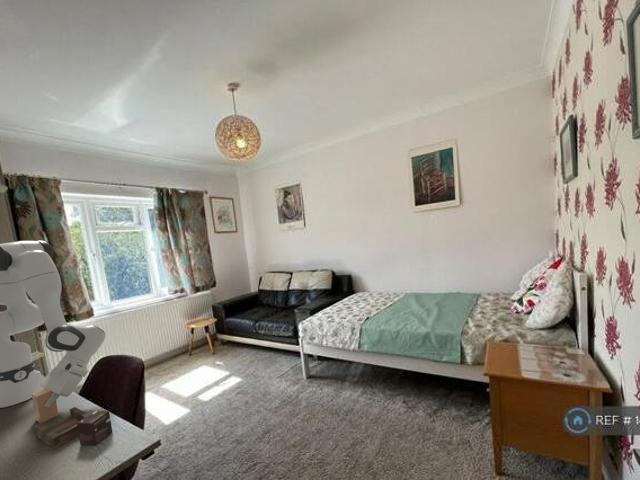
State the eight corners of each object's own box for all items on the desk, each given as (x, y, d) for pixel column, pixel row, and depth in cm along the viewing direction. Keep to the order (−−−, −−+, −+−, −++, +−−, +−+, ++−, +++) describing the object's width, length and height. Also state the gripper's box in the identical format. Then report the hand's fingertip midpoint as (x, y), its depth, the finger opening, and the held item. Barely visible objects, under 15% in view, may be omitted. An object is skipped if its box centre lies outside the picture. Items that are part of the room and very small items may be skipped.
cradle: (36, 436, 98) (34, 426, 98) (76, 416, 108) (74, 406, 107) (54, 449, 90) (53, 438, 90) (96, 426, 99) (94, 416, 99)
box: (95, 446, 89) (91, 423, 89) (79, 445, 90) (76, 423, 90) (113, 432, 95) (109, 410, 95) (98, 432, 96) (94, 410, 96)
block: (35, 420, 108) (31, 394, 108) (53, 412, 112) (49, 386, 112) (40, 423, 106) (36, 396, 105) (58, 415, 110) (54, 389, 109)
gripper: (53, 360, 120) (24, 396, 111) (74, 367, 109) (43, 408, 101) (68, 365, 124) (41, 401, 116) (90, 373, 113) (62, 412, 105)
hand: (42, 404), depth 108 cm, fingers closed on block, 5 cm apart
